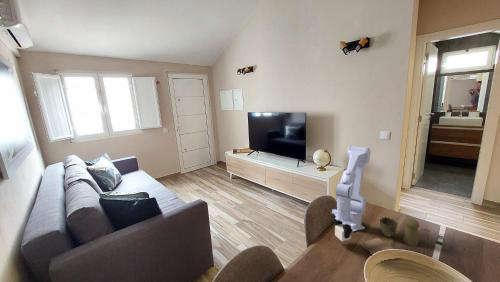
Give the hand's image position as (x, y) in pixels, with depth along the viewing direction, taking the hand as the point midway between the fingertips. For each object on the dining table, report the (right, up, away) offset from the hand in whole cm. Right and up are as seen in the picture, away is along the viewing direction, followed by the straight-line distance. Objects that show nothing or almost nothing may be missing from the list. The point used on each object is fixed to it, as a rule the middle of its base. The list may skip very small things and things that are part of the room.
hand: (342, 234), depth 101 cm
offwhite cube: (0, -1, 0) cm, 2 cm away
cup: (+25, -3, +5) cm, 26 cm away
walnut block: (+14, -6, -4) cm, 16 cm away
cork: (+33, -4, 0) cm, 33 cm away
